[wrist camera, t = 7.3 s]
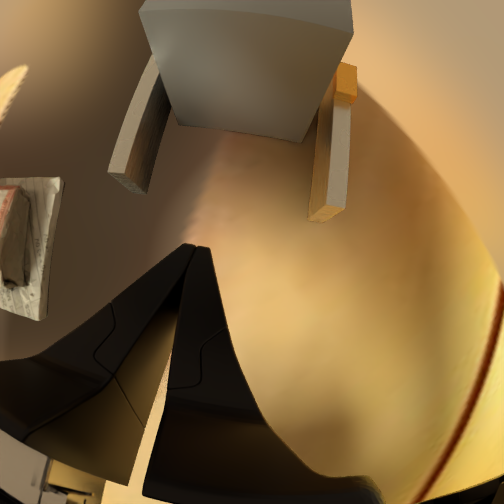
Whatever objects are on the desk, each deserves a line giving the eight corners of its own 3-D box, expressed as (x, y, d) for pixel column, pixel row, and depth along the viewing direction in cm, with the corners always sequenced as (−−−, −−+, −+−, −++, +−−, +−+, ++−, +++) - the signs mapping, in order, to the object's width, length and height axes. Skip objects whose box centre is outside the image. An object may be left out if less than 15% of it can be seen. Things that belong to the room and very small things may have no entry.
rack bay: (324, 223, 18) (384, 185, 10) (132, 192, 17) (70, 140, 9) (334, 92, 19) (373, 18, 11) (172, 69, 18) (150, -10, 10)
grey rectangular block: (301, 143, 18) (353, 33, 8) (178, 125, 17) (138, 11, 7) (306, 91, 18) (348, -18, 8) (194, 75, 18) (175, -37, 8)
